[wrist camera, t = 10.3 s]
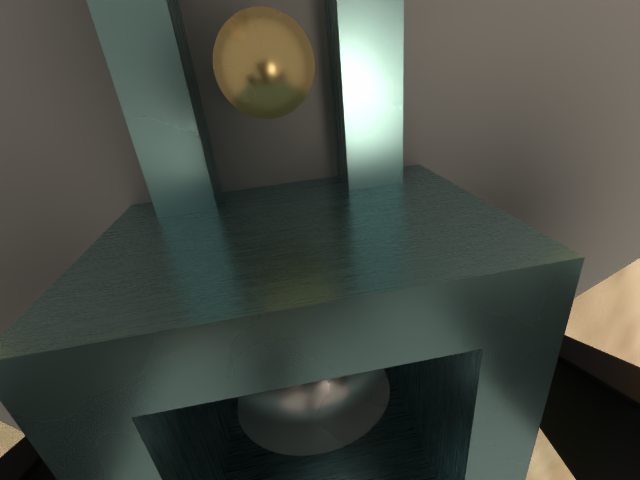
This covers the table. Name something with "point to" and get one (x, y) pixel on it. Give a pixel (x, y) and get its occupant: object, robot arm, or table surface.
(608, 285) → the table surface
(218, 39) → the shiny brass sphere
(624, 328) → the table surface
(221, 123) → the post board
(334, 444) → the grey metallic rounded piece
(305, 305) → the teal collar
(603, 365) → the robot arm
